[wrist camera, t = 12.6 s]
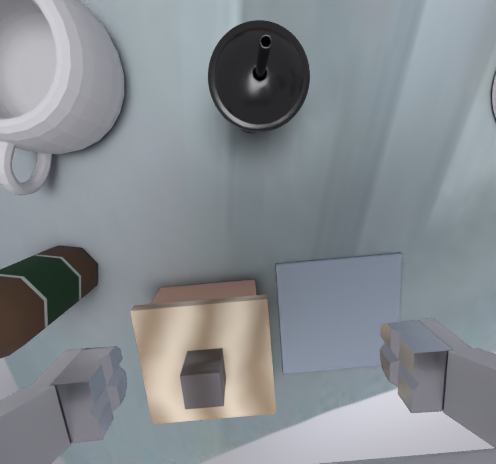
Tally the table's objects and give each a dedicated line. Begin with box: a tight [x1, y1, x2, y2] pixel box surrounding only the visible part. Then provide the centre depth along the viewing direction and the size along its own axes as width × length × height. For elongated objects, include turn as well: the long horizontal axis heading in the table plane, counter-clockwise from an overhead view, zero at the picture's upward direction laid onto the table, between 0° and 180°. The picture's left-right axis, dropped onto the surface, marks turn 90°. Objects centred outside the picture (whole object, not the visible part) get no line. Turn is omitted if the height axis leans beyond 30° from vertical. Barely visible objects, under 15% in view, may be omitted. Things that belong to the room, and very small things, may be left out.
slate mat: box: [276, 253, 402, 374], centre depth 41 cm, size 17×17×1 cm
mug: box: [0, 0, 124, 195], centre depth 29 cm, size 21×17×10 cm
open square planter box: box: [149, 279, 256, 305], centre depth 37 cm, size 13×13×7 cm
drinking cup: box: [208, 20, 310, 133], centre depth 25 cm, size 8×8×20 cm
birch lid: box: [131, 294, 276, 424], centre depth 32 cm, size 15×15×5 cm
